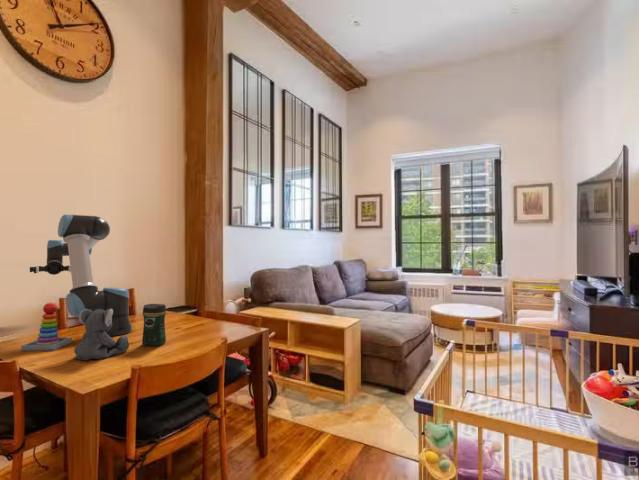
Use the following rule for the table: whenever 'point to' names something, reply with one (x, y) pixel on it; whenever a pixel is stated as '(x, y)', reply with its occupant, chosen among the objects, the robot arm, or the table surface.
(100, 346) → the koala plush
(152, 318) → the coffee jar
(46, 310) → the stacking toy
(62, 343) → the tray
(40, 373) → the table surface
